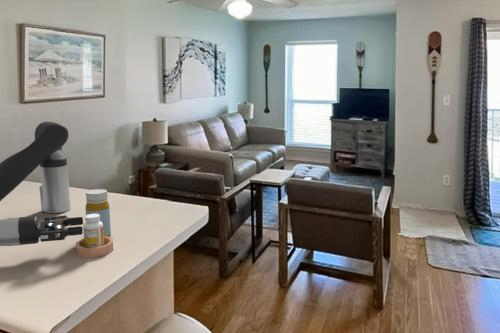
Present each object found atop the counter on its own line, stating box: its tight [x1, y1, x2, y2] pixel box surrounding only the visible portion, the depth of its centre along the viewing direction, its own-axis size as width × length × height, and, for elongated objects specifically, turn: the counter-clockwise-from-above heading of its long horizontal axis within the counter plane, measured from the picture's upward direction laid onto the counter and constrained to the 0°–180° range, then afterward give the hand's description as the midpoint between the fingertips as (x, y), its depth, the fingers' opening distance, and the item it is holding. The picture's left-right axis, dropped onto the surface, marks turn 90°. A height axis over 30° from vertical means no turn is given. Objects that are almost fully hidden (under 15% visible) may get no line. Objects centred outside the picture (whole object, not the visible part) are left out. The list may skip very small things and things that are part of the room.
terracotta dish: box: [75, 236, 114, 258], centre depth 127 cm, size 10×10×2 cm
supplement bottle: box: [82, 214, 104, 248], centre depth 126 cm, size 5×5×10 cm
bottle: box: [85, 188, 112, 238], centre depth 135 cm, size 7×7×15 cm
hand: (82, 225), depth 124 cm, fingers open, 8 cm apart
